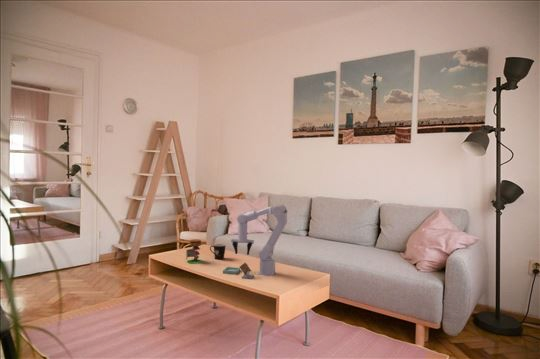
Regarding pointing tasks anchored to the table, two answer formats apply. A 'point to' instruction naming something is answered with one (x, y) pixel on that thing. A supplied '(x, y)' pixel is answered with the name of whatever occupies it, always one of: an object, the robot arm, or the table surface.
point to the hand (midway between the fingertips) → (242, 254)
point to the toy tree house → (194, 252)
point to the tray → (231, 270)
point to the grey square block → (247, 276)
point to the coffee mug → (219, 251)
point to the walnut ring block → (245, 268)
